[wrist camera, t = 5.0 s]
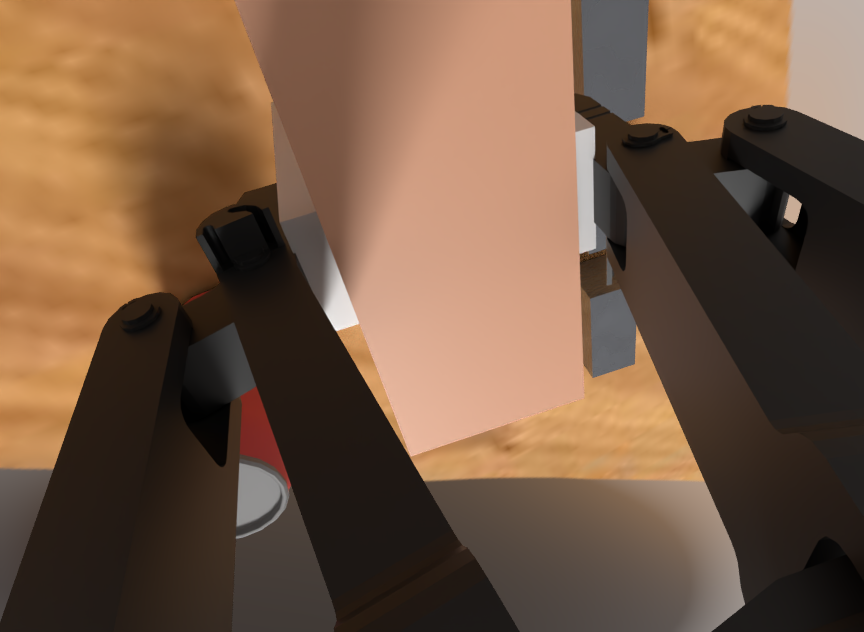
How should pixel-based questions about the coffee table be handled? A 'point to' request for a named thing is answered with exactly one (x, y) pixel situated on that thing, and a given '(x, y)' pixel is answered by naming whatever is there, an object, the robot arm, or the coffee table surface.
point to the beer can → (258, 468)
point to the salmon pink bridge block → (441, 193)
